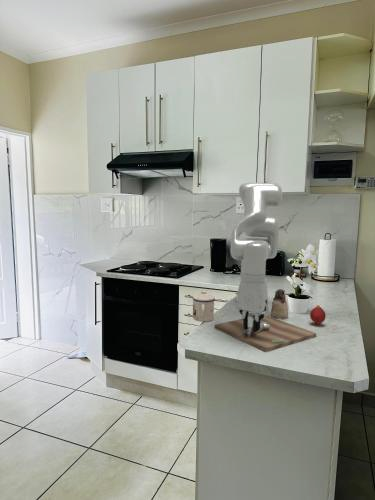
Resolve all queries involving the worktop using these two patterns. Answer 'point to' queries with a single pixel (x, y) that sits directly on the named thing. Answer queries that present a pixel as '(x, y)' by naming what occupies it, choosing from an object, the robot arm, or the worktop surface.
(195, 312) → the teacup with lid
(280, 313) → the tan brown ceramic jug
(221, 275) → the worktop surface
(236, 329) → the wooden cutting board
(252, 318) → the dial lever
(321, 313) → the onion
